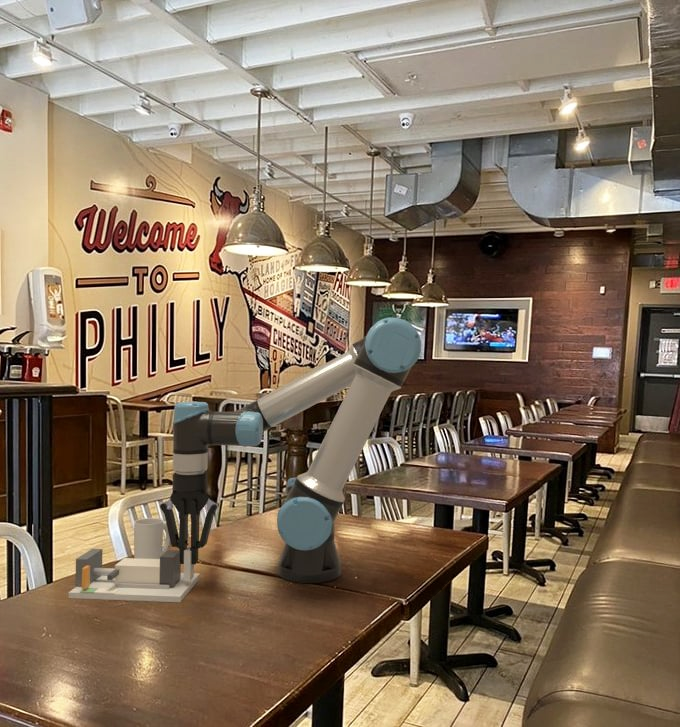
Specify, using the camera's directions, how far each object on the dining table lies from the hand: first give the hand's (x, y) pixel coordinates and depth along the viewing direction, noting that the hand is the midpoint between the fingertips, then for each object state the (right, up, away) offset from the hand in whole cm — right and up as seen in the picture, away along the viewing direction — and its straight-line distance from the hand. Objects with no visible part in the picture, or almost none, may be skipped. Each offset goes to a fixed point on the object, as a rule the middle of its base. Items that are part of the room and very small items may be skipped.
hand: (188, 578), depth 141 cm
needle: (-21, 0, -5) cm, 21 cm away
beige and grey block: (-9, -1, -1) cm, 9 cm away
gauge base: (-12, -2, +1) cm, 12 cm away
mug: (-12, -3, +14) cm, 18 cm away
